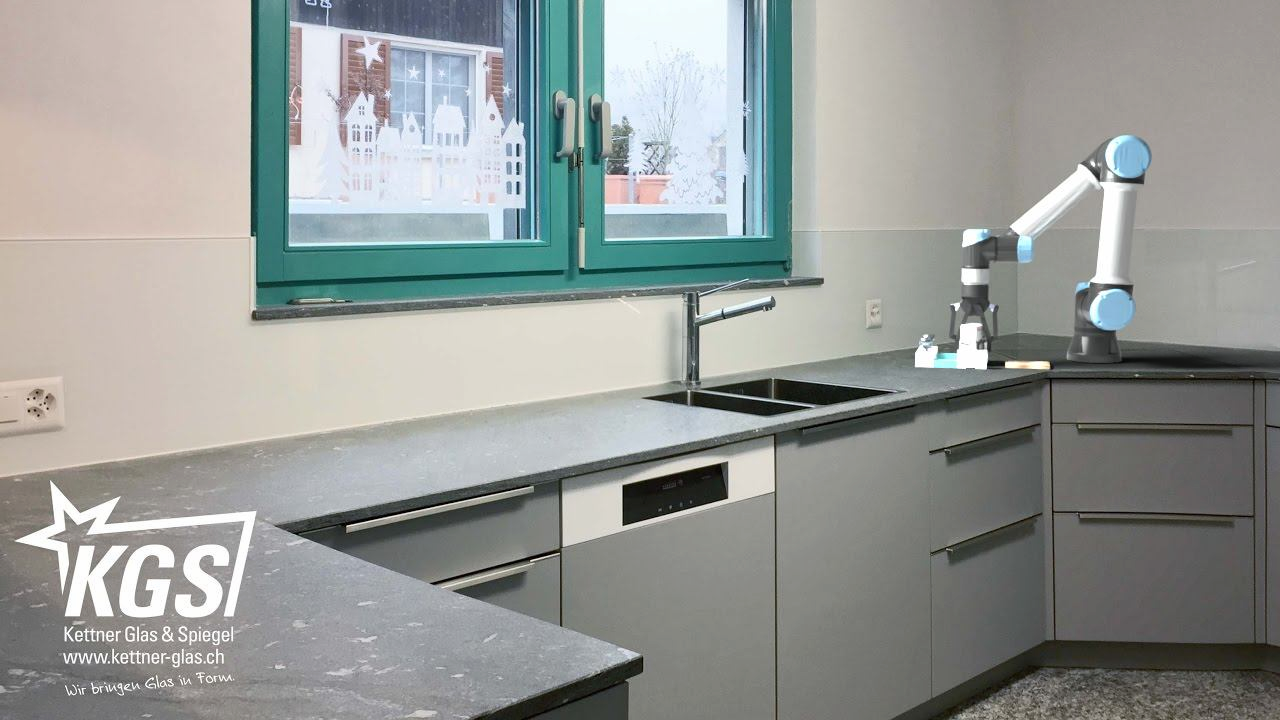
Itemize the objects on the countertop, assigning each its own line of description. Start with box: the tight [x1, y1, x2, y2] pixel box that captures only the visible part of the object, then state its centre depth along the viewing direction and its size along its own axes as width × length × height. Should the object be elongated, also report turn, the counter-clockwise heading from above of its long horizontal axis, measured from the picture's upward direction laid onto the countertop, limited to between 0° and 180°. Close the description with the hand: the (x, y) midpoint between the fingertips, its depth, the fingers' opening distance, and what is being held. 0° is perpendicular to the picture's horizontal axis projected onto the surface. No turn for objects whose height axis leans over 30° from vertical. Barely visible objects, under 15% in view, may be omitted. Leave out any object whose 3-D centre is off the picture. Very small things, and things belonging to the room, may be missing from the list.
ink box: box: [960, 322, 987, 350], centre depth 348 cm, size 8×5×12 cm, turn 143°
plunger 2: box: [918, 336, 933, 352], centre depth 347 cm, size 4×4×7 cm
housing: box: [914, 345, 989, 370], centre depth 350 cm, size 20×19×5 cm
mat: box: [1004, 359, 1051, 370], centre depth 344 cm, size 12×10×1 cm
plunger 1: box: [921, 333, 935, 348], centre depth 357 cm, size 4×4×7 cm
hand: (972, 363), depth 349 cm, fingers closed on ink box, 6 cm apart
